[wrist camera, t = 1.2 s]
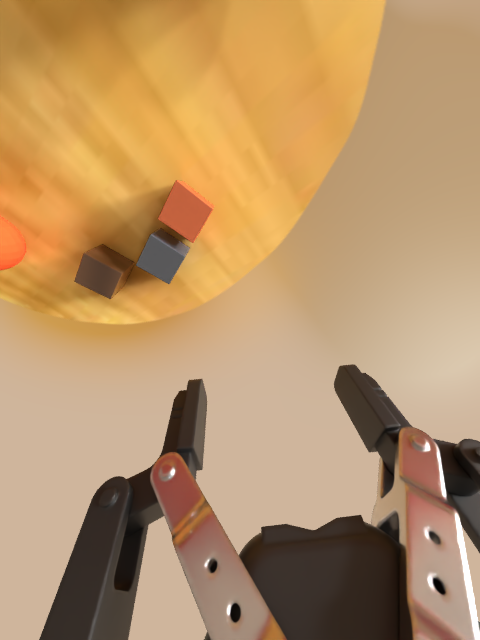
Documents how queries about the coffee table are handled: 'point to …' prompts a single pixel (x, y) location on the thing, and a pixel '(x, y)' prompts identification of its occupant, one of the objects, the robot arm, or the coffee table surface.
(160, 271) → the slate block
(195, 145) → the coffee table surface
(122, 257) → the walnut block
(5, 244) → the clementine
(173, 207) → the terracotta block
